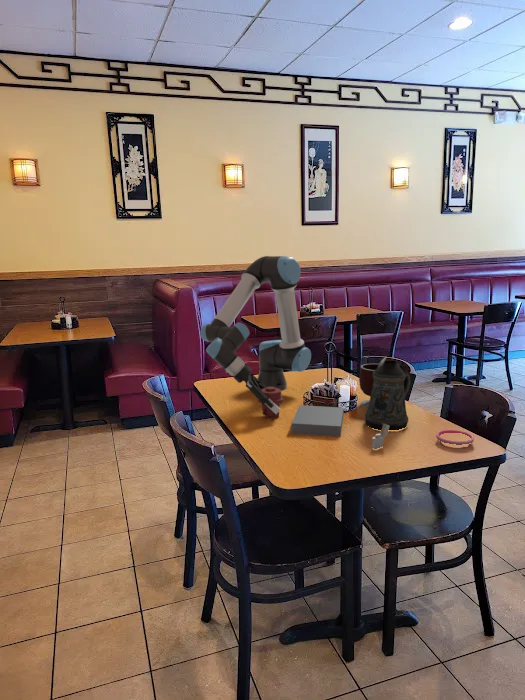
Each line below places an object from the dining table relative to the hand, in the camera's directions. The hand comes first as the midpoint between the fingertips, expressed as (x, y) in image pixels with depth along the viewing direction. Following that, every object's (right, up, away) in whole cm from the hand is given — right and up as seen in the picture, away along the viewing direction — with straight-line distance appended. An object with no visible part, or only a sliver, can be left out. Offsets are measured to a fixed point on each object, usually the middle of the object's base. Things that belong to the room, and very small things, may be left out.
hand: (278, 407), depth 209 cm
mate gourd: (+43, -1, +16) cm, 46 cm away
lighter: (+34, -11, -32) cm, 48 cm away
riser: (+15, -6, -9) cm, 19 cm away
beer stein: (+42, -6, -8) cm, 43 cm away
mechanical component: (-3, -4, +1) cm, 5 cm away
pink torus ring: (+61, -10, -28) cm, 68 cm away
